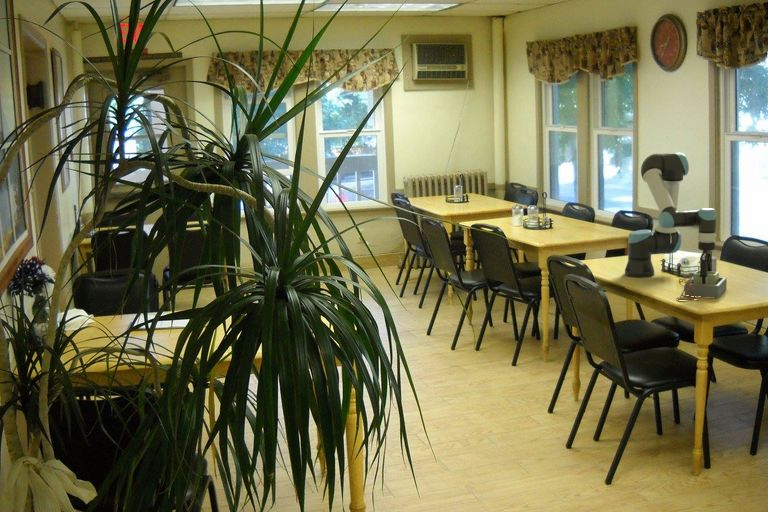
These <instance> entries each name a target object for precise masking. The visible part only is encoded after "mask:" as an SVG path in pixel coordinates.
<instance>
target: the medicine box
mask: <svg viewBox="0 0 768 512" xmlns="http://www.w3.org/2000/svg"><path fill="white" fill-rule="evenodd" d="M699 258H700V261H699V260H698V264H699V263H700V267H701V256H700V257H699ZM717 261H718V260H717V258H716V257H715V256H712V271H713V272H717Z"/></svg>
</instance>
